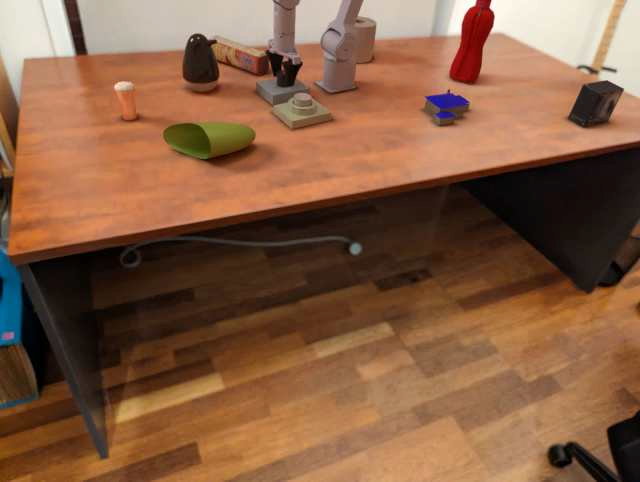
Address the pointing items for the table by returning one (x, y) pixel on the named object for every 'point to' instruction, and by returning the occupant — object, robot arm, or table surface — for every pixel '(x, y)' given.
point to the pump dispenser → (200, 64)
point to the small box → (595, 103)
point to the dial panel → (279, 91)
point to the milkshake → (126, 99)
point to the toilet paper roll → (364, 39)
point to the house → (445, 107)
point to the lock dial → (281, 78)
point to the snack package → (240, 55)
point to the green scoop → (208, 138)
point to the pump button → (302, 100)
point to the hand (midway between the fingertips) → (283, 80)
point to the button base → (301, 113)
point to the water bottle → (472, 42)
